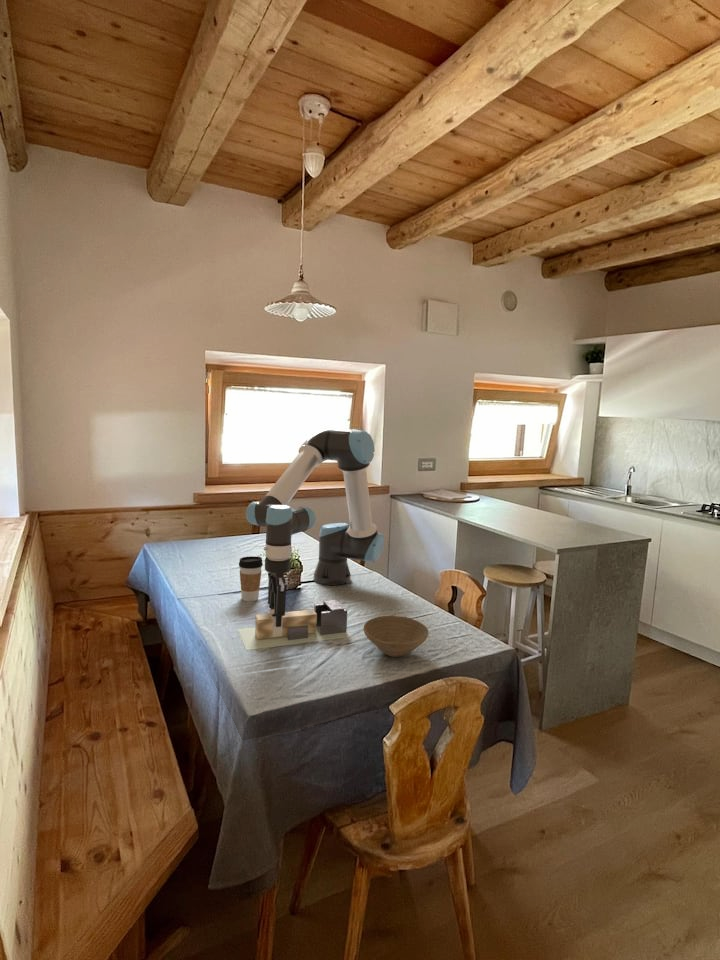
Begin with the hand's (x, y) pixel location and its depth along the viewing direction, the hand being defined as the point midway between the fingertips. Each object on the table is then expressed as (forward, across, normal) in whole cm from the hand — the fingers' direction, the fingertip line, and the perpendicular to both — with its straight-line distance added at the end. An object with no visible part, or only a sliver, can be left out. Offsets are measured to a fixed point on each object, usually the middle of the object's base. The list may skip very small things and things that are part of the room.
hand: (275, 632), depth 160 cm
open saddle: (+1, 0, +6) cm, 6 cm away
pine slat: (+1, 0, +3) cm, 3 cm away
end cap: (+1, 0, +17) cm, 17 cm away
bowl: (+1, +21, +30) cm, 37 cm away
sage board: (+1, 0, +6) cm, 6 cm away
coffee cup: (+1, -34, -1) cm, 34 cm away
